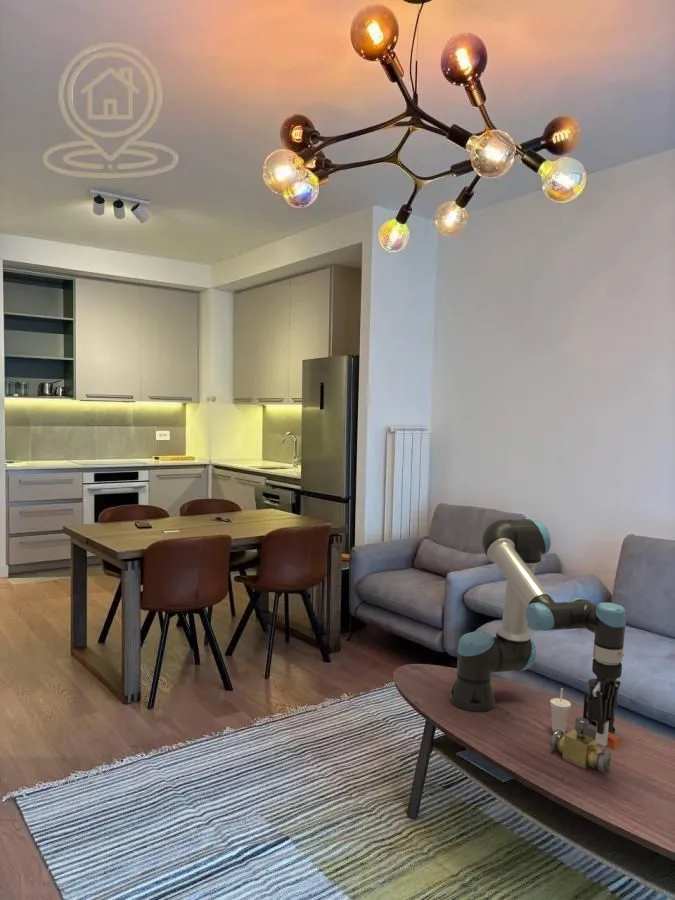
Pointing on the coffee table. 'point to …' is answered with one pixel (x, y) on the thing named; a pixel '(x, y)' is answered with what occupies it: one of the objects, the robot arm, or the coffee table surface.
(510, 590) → the robot arm
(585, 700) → the french press
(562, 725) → the smoothie
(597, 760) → the pipe valve
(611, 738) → the lever
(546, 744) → the coffee table surface
